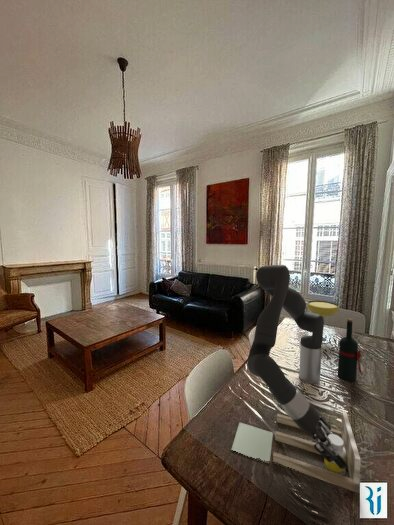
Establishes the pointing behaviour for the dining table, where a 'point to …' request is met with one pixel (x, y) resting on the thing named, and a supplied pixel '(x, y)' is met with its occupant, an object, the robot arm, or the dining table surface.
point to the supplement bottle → (339, 448)
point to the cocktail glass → (323, 309)
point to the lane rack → (314, 471)
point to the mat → (253, 442)
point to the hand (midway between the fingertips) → (342, 457)
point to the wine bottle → (348, 356)
